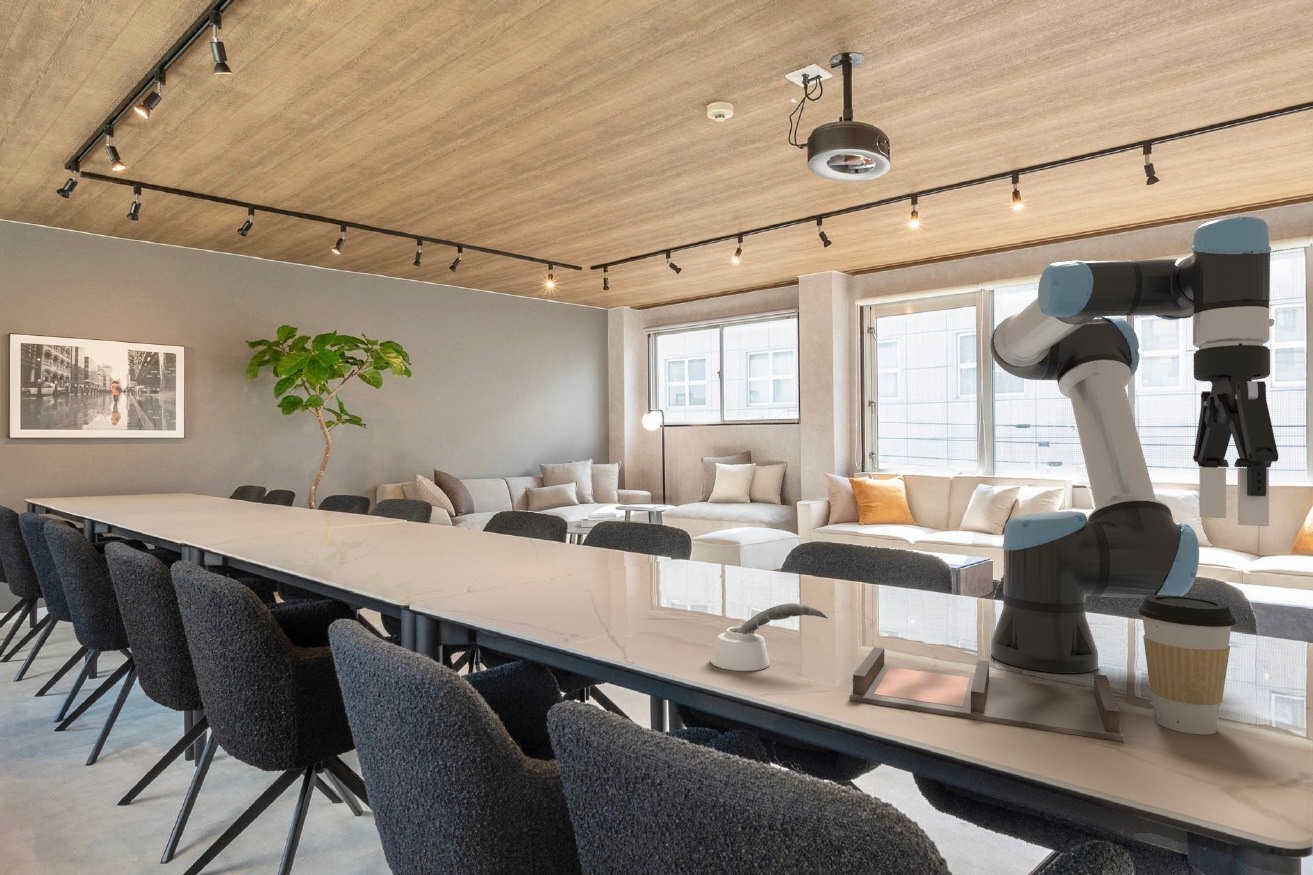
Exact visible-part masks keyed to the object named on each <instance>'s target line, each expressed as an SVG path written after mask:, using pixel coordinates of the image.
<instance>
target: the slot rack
mask: <svg viewBox="0 0 1313 875" xmlns="http://www.w3.org/2000/svg"><path fill="white" fill-rule="evenodd" d="M848 696H849V701H852V702H859V703H866V704H873V705H880V706H886V707H891V708H892V707H893V708H899V709H904V710H912V711H919V712H924V713H932V714H937V715H944V716H952V717H958V718H965V719H971V720H977V721H984V722H990V723H995V724H997V723H998V724H1004V725H1009V726H1017V727H1023V728H1030V729H1037V730H1043V731H1049V732H1054V733H1055V732H1056V733H1062V734H1067V735H1068V734H1069V735H1076V736H1081V737H1082V736H1083V737H1088V738H1095V739H1101V740H1109V741H1115V742H1121V743H1124V735H1123V732H1122V730H1121V710H1120V708H1119V705H1118V703H1117V702H1118V701H1117V700H1116V697H1115V694H1114V692H1113V689H1112V687H1111V683H1110V681H1109V679H1108V674H1098V673H1093V689H1086V688H1078V687H1072V686H1071V687H1069V686H1062V685H1056V684H1055V685H1054V684H1048V683H1047V684H1046V683H1039V682H1034V681H1033V682H1032V681H1026V680H1025V681H1023V680H1015V679H1010V678H1009V679H1007V678H1000V677H994V676H993V677H992V676H990V661H989V660H984V659H983V660H981V659H977V662H976V666H975V671H974V674H969V673H960V672H956V671H955V672H954V671H949V670H948V671H945V670H939V669H930V668H926V667H918V666H917V667H915V666H910V665H901V664H894V663H893V664H891V663H886V662H885V648H884V647H876V646H874V647H873V648H872V649H871V650H870V652H869V653H868V655H867V656H866V657H865V658H864V660H863V661H862V663H860V665H859V666H858V668H857V669H856V670H855V672H854V673H853V675H852V691H851V693H850V695H848Z"/></svg>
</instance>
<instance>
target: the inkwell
mask: <svg viewBox="0 0 1313 875" xmlns="http://www.w3.org/2000/svg"><path fill="white" fill-rule="evenodd" d="M800 616H809V617H810V616H811V617H813V616H814V617H819V618H824V619H828V617H827V616H826V615H825V614H824V612H822V611H820V610H819V609H816V608H814V607H812V606H809V605H805V604H800V603H794V602H793V603H792V602H791V603H790V602H789V603H784V604H783V603H782V604H779V605H775V606H772V607H769V608H766V609H764V610H763V611H761V612H759V613H757V614H755V615H754V616H753V617H751V618H750V619H749V620H747V621H746V622H745V623H743V625H741V626H732V627H728V628H726V629H725V632H721V633H719V634H718V635H717V636H716V640H715V643H714V646H713V649H712V653H711V656H710V664H712V665H713V666H714V667H716V668H719V669H723V670H727V671H735V672H757V671H761V670H764V669H767V668H769V666H770V665H771V660H770V655H769V651H768V648H767V647H768V646H767V644H766V640H765V638H764V636H762V635H761V634H758V633H756V630H758V629H759V628H760V626H764V625H766V624H769V623H770V622H771V621H777V620H786V619H788V618H790V617H800Z"/></svg>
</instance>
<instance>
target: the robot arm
mask: <svg viewBox="0 0 1313 875" xmlns="http://www.w3.org/2000/svg"><path fill="white" fill-rule="evenodd" d="M1269 234H1270V233H1269V226H1268V224H1267V222H1266V221H1265V220H1264V219H1262V218H1259V217H1255V216H1253V217H1252V216H1236V217H1233V216H1232V217H1226V218H1221V219H1216V220H1212V221H1209V222H1206V223H1204V224H1202V225H1200V226H1199V227H1197V228H1196V230H1194V233H1193V240H1192V245H1191V251H1192V253H1191V254H1190V255H1187V256H1186V257H1183V258H1163V259H1136V260H1132V259H1131V260H1129V259H1128V260H1075V259H1074V260H1070V261H1064V262H1063V261H1062V262H1055V263H1050V264H1049V265H1047V266H1046V267H1044V269H1043V271H1042V273H1041V277H1040V279H1039V282H1038V289H1037V298H1036V299H1035V300H1033V301H1032V302H1031V303H1030V304H1029V305H1028V306H1026V307H1025V309H1023V310H1022V311H1021V312H1020V313H1017V314H1015V313H1014V314H1013V315H1010V316H1008V317H1007V318H1004V319H1003V320H1002V321H1001V322H1000V323H999V324H998V325H997V327H996V328H995V329H994V330H993V333H992V334H991V337H990V343H989V346H990V349H989V350H990V352H991V357H993V360H994V361H995V363H996V364H997V366H999V367H1000V368H1001V369H1003V371H1005V372H1007V373H1008V374H1011V375H1012V376H1015V377H1018V378H1021V379H1025V380H1031V381H1057V386H1058V389H1059V392H1060V393H1061V394H1062V395H1063V396H1065V398H1067V399H1070V400H1071V405H1072V410H1073V414H1074V419H1075V423H1076V428H1077V433H1078V437H1079V441H1080V445H1081V449H1082V454H1083V460H1084V463H1085V467H1086V472H1087V477H1088V481H1089V485H1090V486H1089V487H1090V491H1091V494H1092V499H1093V504H1094V507H1095V508H1094V509H1093V510H1092V512H1090V513H1089V515H1088V517H1087V516H1086V514H1085V513H1084V512H1081V511H1069V510H1068V511H1045V512H1034V513H1026V514H1021V515H1017V516H1014V517H1012V518H1010V519H1009V520H1008V521H1007V522H1006V523H1005V526H1004V533H1003V535H1004V536H1003V543H1002V549H1003V603H1002V605H1003V607H1002V610H1001V613H1000V617H999V618H998V622H997V624H996V626H995V630H994V633H993V635H992V638H991V643H990V644H991V645H990V648H991V650H990V651H991V652H990V654H991V656H992V657H993V658H994V659H995V660H997V661H999V662H1001V663H1005V664H1007V665H1010V666H1014V667H1018V668H1023V669H1027V670H1032V671H1038V672H1046V673H1055V674H1056V673H1058V674H1083V673H1090V672H1094V671H1096V670H1097V669H1098V667H1099V652H1098V649H1097V646H1096V643H1095V638H1094V637H1093V634H1092V631H1091V628H1090V625H1089V623H1088V622H1089V621H1088V620H1087V616H1086V601H1087V600H1086V599H1087V597H1088V596H1089V597H1103V598H1104V597H1105V598H1124V599H1125V598H1127V599H1142V600H1143V599H1144V600H1145V597H1146V596H1151V595H1175V596H1185V595H1186V594H1187V593H1188V592H1189V591H1190V589H1191V588H1192V587H1193V584H1194V582H1195V580H1196V577H1197V573H1198V570H1199V563H1200V545H1199V540H1198V537H1197V534H1196V532H1195V530H1194V528H1193V527H1191V526H1190V524H1186V523H1183V522H1175V520H1174V518H1173V515H1172V514H1173V513H1172V510H1171V509H1170V508H1171V507H1170V506H1168V505H1167V504H1166V503H1164V502H1162V501H1160V500H1157V499H1156V495H1155V491H1154V489H1153V484H1152V481H1151V477H1150V473H1149V470H1148V469H1149V468H1148V466H1147V462H1146V459H1145V455H1144V452H1143V448H1142V445H1141V442H1140V438H1139V433H1138V431H1137V426H1136V422H1135V419H1134V415H1133V412H1132V411H1133V410H1132V408H1131V405H1130V400H1129V397H1128V395H1127V394H1128V393H1127V390H1126V387H1127V386H1128V385H1129V384H1130V382H1131V379H1132V377H1133V376H1134V375H1135V374H1136V372H1137V369H1138V366H1139V363H1140V353H1139V351H1138V350H1139V349H1140V343H1139V338H1138V336H1137V334H1136V331H1135V329H1134V328H1133V326H1132V325H1131V324H1130V323H1129V322H1128V321H1127V320H1125V319H1123V318H1122V317H1132V316H1133V317H1134V316H1135V317H1137V316H1138V317H1139V316H1140V317H1141V316H1143V317H1144V316H1155V317H1157V318H1160V319H1162V320H1168V321H1173V320H1174V321H1175V320H1180V319H1182V320H1183V319H1189V318H1191V317H1192V346H1194V347H1196V348H1198V350H1195V352H1194V353H1193V378H1194V379H1195V380H1196V381H1199V382H1209V383H1211V388H1210V389H1211V390H1202V391H1201V394H1200V398H1201V399H1200V411H1199V418H1198V419H1199V420H1198V425H1197V432H1196V437H1195V438H1196V439H1195V445H1194V451H1193V456H1192V459H1193V461H1194V463H1197V465H1198V467H1199V468H1198V469H1199V471H1198V472H1199V473H1198V474H1199V475H1198V476H1199V518H1205V519H1206V518H1209V519H1210V518H1212V519H1227V468H1229V467H1230V465H1229V462H1228V461H1227V460H1228V459H1225V457H1226V454H1227V450H1228V448H1229V444H1230V440H1231V436H1232V438H1233V442H1234V446H1235V447H1236V451H1237V454H1238V457H1237V458H1236V460H1235V462H1234V464H1233V465H1234V467H1235V468H1237V525H1238V526H1253V527H1254V526H1255V527H1256V526H1257V527H1270V490H1269V489H1270V470H1269V469H1270V468H1271V467H1272V463H1276V462H1278V460H1279V453H1278V448H1277V442H1276V439H1275V434H1274V429H1273V424H1272V420H1271V415H1270V412H1269V404H1268V402H1267V401H1268V400H1267V385H1266V382H1265V380H1264V381H1260V380H1262V379H1266V378H1268V377H1269V376H1270V374H1271V349H1270V348H1269V347H1268V346H1265V344H1267V343H1268V342H1269V341H1270V338H1271V337H1270V336H1271V335H1270V327H1273V326H1274V325H1275V320H1274V319H1273V318H1270V296H1271V295H1270V294H1271V292H1270V290H1271V251H1272V247H1271V246H1270V237H1269ZM1120 316H1121V317H1120ZM1256 380H1257V381H1256ZM1258 380H1259V381H1258Z"/></svg>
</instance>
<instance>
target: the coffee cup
mask: <svg viewBox="0 0 1313 875" xmlns="http://www.w3.org/2000/svg"><path fill="white" fill-rule="evenodd" d="M1137 613H1138V614H1139V615H1140V616H1141V617H1142V621H1143V622H1142V623H1143V630H1144V635H1143V644H1144V652H1145V661H1146V667H1147V668H1146V669H1147V676H1148V685H1149V690H1150V692H1151V695H1152V696H1151V698H1152V705H1153V714H1154V721H1155V722H1156V723H1157V724H1158V725H1160V726H1162V727H1164V728H1167V729H1169V730H1173V731H1176V732H1181V733H1186V734H1192V735H1204V736H1205V735H1213V734H1216V733H1217V729H1218V722H1219V716H1220V710H1221V709H1220V707H1221V703H1223V696H1224V689H1225V684H1226V677H1227V670H1228V663H1229V655H1230V649H1231V646H1230V645H1229V644H1230V641H1231V640H1230V638H1231V631H1232V627H1233V626H1235V625H1237V621H1236V618H1235V616H1234V615H1233V614H1232V612H1231V608H1230V606H1229V604H1227V603H1224V602H1221V601H1218V600H1214V599H1213V600H1212V599H1209V598H1208V599H1207V598H1202V597H1195V596H1186V595H1183V596H1175V595H1151V596H1146V597H1145V599H1144V601H1143V603H1142V605H1140V606H1139V608H1138V612H1137Z"/></svg>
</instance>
